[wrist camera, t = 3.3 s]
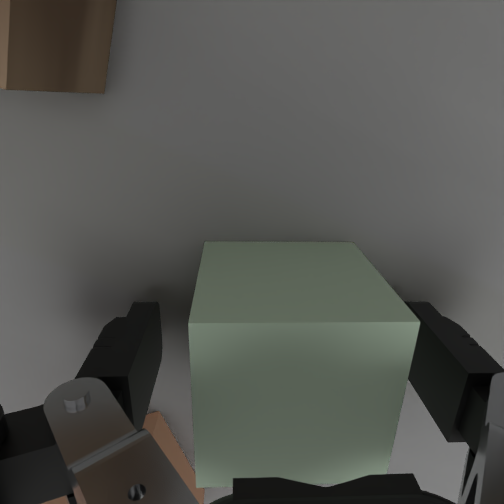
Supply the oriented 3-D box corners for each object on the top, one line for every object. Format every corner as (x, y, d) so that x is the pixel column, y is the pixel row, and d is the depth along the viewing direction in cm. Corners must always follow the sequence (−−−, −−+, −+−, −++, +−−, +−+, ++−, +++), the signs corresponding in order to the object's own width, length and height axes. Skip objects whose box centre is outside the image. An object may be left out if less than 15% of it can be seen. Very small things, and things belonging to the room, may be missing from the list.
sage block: (204, 240, 12) (188, 323, 8) (352, 241, 13) (420, 322, 8) (207, 362, 14) (196, 488, 10) (336, 361, 15) (384, 482, 10)
